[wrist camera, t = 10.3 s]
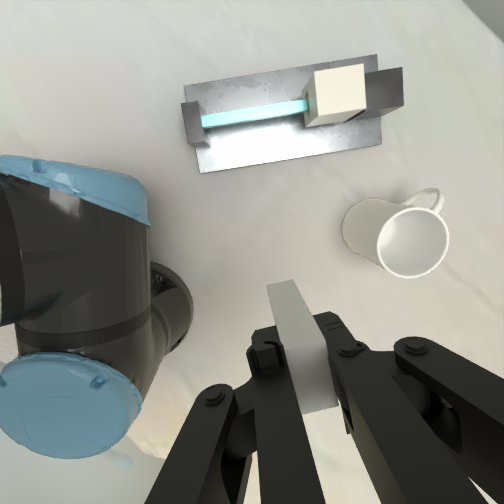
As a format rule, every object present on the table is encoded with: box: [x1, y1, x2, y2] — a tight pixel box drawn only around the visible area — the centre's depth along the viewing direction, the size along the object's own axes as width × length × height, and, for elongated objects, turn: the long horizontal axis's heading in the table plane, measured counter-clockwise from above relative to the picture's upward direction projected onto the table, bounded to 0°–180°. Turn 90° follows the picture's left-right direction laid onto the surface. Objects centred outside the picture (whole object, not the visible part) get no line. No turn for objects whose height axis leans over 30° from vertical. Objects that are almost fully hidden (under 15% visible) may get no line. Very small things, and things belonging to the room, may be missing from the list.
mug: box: [342, 188, 449, 278], centre depth 40 cm, size 12×8×12 cm
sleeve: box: [302, 64, 366, 127], centre depth 35 cm, size 5×4×7 cm
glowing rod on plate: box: [181, 54, 404, 173], centre depth 38 cm, size 25×11×7 cm, turn 99°
